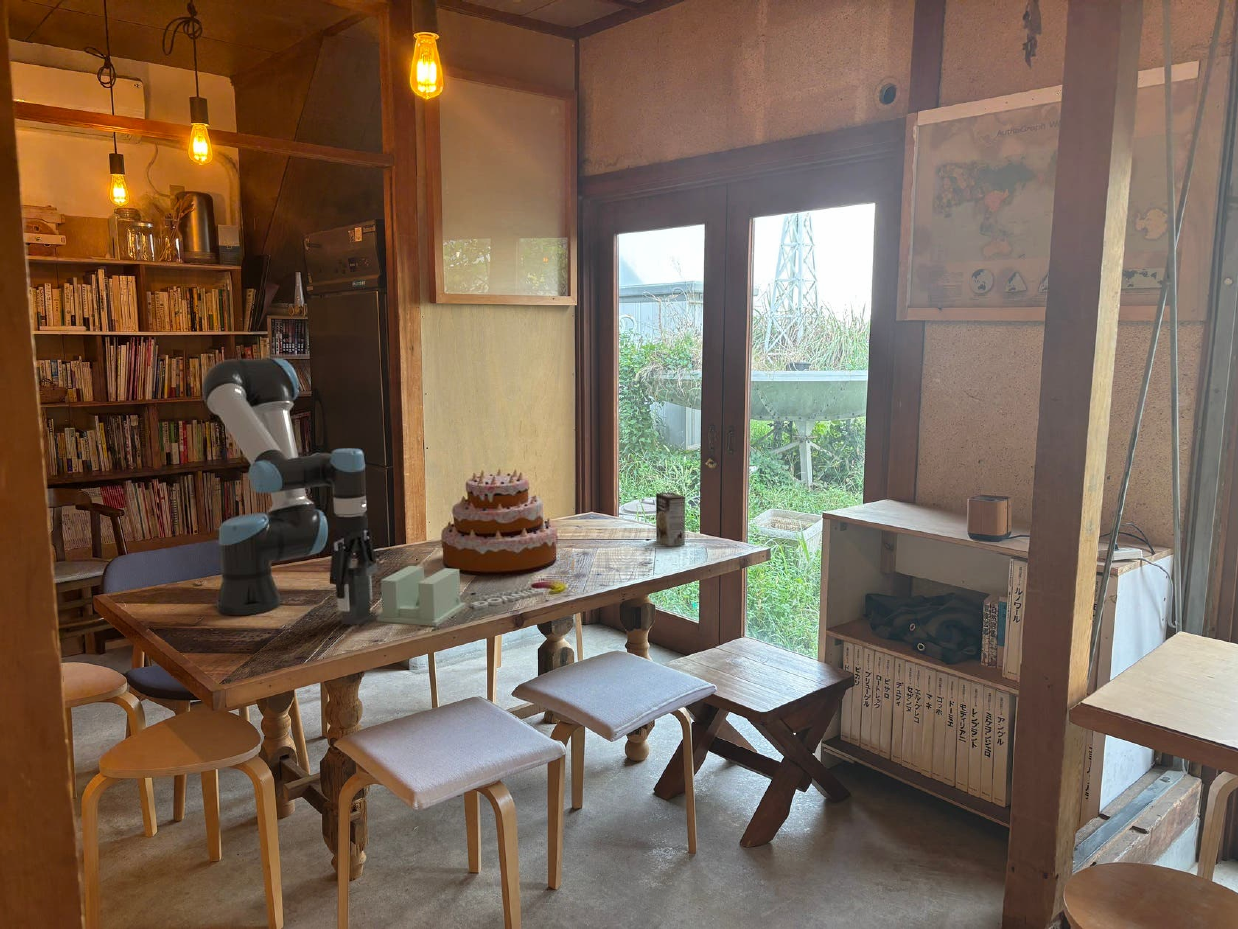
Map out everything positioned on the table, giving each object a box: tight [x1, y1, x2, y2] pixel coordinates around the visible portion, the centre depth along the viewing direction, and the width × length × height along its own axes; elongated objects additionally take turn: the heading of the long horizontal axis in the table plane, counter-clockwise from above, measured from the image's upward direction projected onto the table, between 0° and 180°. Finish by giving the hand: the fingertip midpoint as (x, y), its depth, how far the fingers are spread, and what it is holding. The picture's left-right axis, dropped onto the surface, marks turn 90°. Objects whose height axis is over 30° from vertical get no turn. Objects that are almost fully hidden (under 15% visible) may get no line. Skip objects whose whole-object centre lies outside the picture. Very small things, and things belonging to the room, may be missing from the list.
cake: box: [440, 468, 559, 577], centre depth 272 cm, size 35×35×28 cm
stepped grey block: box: [340, 560, 379, 626], centre depth 217 cm, size 7×6×14 cm
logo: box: [470, 581, 566, 611], centre depth 238 cm, size 29×1×10 cm
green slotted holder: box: [376, 565, 467, 627], centre depth 223 cm, size 16×16×10 cm
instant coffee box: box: [655, 492, 686, 547], centre depth 295 cm, size 9×6×16 cm
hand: (355, 604), depth 218 cm, fingers open, 9 cm apart
